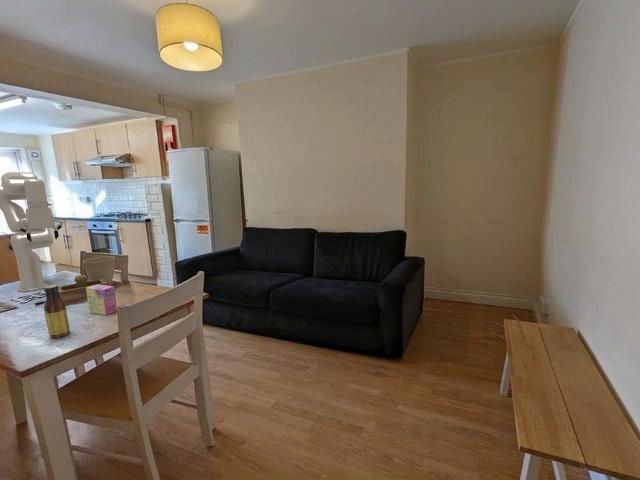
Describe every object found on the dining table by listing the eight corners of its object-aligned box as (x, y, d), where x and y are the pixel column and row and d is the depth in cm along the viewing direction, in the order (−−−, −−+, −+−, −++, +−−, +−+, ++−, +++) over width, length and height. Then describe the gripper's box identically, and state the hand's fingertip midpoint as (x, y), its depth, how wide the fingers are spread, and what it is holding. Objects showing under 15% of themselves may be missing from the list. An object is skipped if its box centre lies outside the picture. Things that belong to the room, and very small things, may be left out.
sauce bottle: (57, 331, 124) (49, 283, 121) (74, 331, 125) (66, 282, 121) (44, 339, 118) (35, 288, 114) (62, 339, 118) (54, 288, 115)
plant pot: (106, 281, 188) (103, 255, 186) (124, 284, 183) (121, 257, 180) (80, 289, 175) (76, 261, 172) (98, 292, 169) (94, 263, 167)
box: (117, 310, 144) (114, 285, 142) (105, 315, 139) (102, 290, 137) (101, 308, 148) (97, 283, 146) (89, 312, 142) (85, 287, 140)
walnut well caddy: (57, 300, 158) (55, 287, 157) (104, 290, 172) (102, 278, 171) (60, 306, 150) (58, 292, 148) (109, 296, 164) (108, 283, 162)
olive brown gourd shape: (82, 298, 157) (79, 277, 155) (73, 298, 158) (69, 276, 157) (93, 294, 163) (90, 274, 161) (84, 293, 164) (81, 273, 162)
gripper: (59, 204, 161) (64, 237, 164) (12, 206, 149) (19, 241, 152) (61, 204, 156) (67, 238, 159) (13, 206, 144) (20, 243, 147)
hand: (43, 240), depth 156 cm, fingers open, 9 cm apart
